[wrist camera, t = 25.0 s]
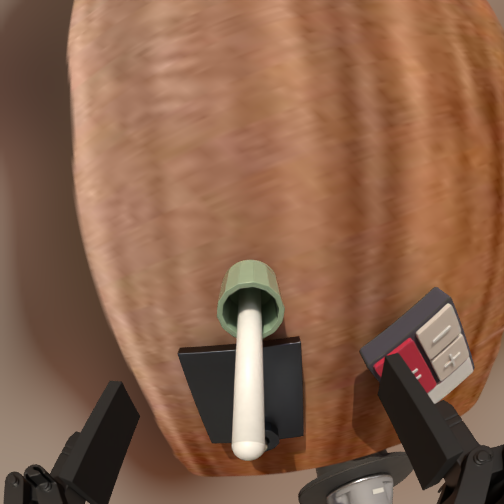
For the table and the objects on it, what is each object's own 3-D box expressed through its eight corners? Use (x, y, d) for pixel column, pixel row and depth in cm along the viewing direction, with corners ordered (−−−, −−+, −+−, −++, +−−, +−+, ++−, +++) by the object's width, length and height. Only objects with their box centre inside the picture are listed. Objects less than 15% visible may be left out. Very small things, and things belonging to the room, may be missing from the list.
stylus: (261, 292, 24) (266, 462, 12) (241, 294, 25) (234, 463, 12) (259, 276, 23) (263, 455, 11) (238, 278, 24) (227, 456, 11)
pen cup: (280, 305, 25) (287, 336, 20) (227, 312, 25) (222, 343, 21) (275, 256, 24) (281, 278, 19) (218, 263, 24) (210, 286, 19)
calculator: (455, 298, 21) (478, 372, 24) (433, 282, 25) (462, 355, 28) (368, 371, 23) (413, 425, 26) (355, 346, 27) (402, 404, 30)
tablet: (302, 433, 31) (305, 447, 29) (213, 440, 31) (212, 454, 29) (299, 335, 26) (303, 350, 24) (179, 347, 27) (174, 362, 24)
